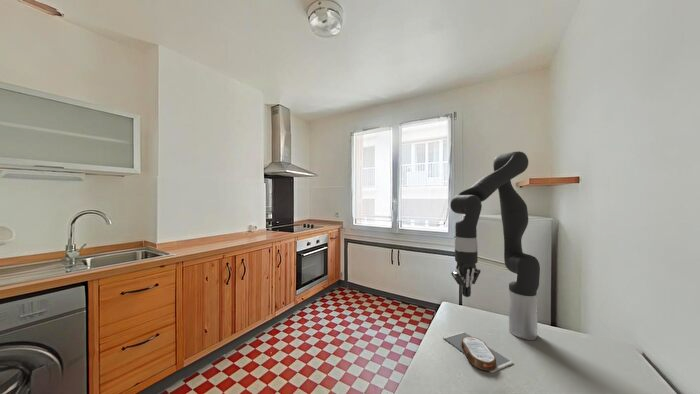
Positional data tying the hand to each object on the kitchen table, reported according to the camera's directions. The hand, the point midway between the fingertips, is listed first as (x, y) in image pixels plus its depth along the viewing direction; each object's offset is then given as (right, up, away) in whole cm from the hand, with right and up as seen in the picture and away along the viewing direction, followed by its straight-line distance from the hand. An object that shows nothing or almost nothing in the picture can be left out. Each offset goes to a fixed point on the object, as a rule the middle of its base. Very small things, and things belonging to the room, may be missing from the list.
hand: (466, 296), depth 86 cm
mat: (+3, -20, 0) cm, 20 cm away
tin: (-2, -18, -3) cm, 18 cm away
